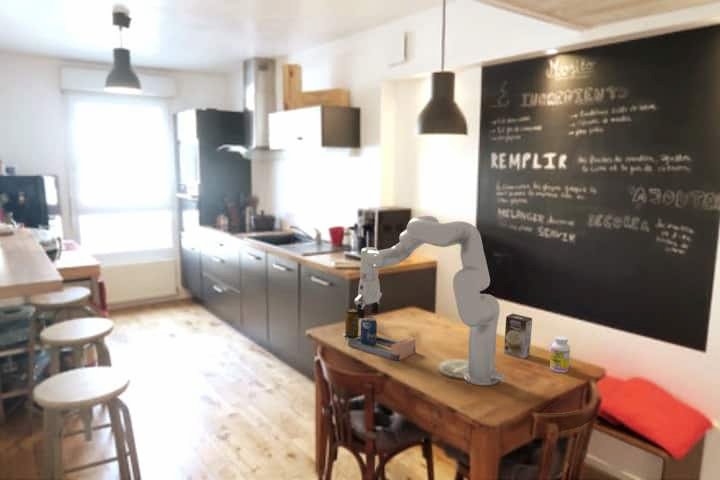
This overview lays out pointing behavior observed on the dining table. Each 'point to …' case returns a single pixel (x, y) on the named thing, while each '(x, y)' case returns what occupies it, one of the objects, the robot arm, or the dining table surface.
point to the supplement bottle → (560, 354)
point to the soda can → (369, 331)
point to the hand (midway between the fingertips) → (368, 315)
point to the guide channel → (374, 349)
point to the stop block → (403, 348)
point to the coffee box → (517, 335)
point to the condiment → (351, 325)
